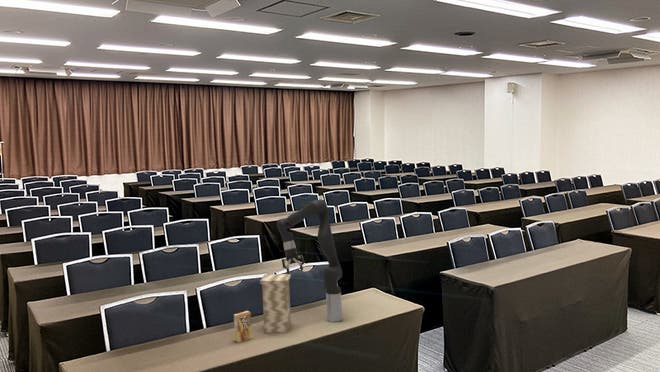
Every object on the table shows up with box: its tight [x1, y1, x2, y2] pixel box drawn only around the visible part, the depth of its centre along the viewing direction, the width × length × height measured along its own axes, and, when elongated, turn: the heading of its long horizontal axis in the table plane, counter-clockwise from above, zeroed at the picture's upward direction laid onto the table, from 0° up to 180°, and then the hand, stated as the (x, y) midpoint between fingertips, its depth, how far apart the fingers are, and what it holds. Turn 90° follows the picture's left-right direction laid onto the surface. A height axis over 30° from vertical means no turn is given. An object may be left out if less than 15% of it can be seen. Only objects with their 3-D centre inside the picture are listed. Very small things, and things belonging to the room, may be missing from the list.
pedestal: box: [259, 273, 292, 334], centre depth 299 cm, size 16×14×31 cm
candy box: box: [233, 310, 253, 343], centre depth 285 cm, size 9×4×15 cm, turn 129°
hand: (295, 272), depth 328 cm, fingers open, 8 cm apart
